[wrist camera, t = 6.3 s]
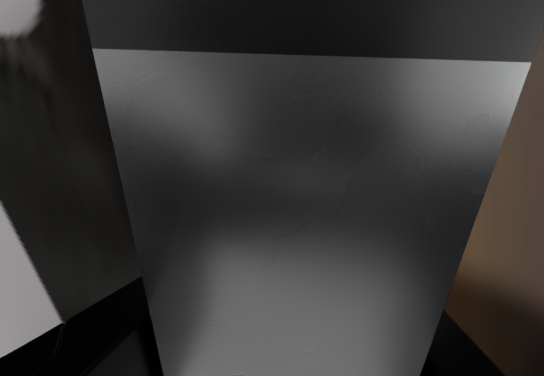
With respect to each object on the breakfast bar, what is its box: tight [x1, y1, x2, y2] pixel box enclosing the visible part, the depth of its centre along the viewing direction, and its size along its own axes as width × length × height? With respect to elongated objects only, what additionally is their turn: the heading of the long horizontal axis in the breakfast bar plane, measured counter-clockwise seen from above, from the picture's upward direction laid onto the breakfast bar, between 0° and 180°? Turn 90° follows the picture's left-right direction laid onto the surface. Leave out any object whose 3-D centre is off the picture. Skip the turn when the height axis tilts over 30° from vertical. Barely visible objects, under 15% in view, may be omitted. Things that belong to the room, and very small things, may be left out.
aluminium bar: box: [82, 0, 544, 376], centre depth 7 cm, size 11×4×4 cm, turn 179°
